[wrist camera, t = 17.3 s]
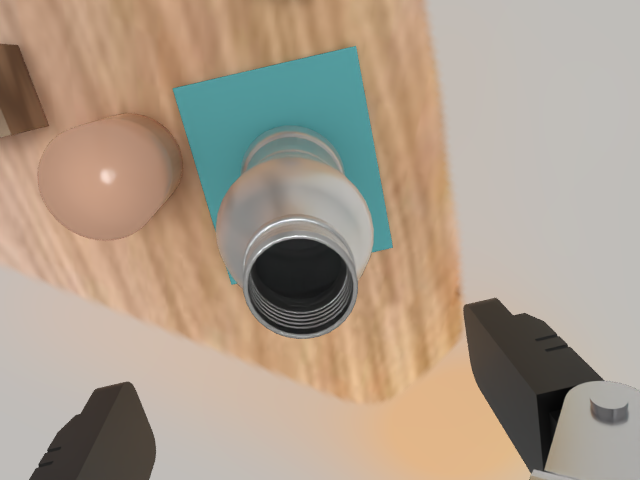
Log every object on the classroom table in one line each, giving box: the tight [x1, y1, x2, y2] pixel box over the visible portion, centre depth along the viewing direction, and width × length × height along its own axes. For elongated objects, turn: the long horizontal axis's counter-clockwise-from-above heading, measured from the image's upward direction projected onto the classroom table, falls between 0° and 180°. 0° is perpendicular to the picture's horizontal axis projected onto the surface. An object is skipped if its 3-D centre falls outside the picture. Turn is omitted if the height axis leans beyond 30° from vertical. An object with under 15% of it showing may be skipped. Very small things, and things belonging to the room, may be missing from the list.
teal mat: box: [173, 46, 393, 284], centre depth 35 cm, size 14×12×1 cm
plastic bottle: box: [216, 126, 374, 339], centre depth 26 cm, size 6×7×20 cm
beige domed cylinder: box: [38, 113, 183, 240], centre depth 31 cm, size 6×6×7 cm
